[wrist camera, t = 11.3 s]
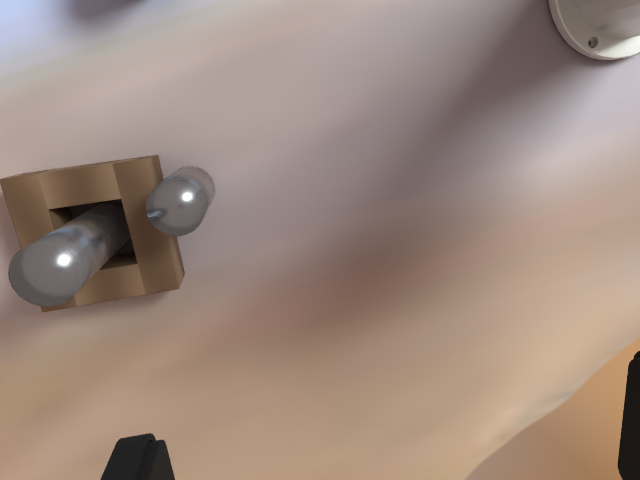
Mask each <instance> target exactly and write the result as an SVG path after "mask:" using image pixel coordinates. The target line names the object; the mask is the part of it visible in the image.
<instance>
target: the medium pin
mask: <svg viewBox="0 0 640 480" xmlns="http://www.w3.org/2000/svg"><path fill="white" fill-rule="evenodd" d="M214 191H215V188H214V183H213V180H212V178H211V177H210V176H209V174H208V173H207V172H205V171H204V170H202V169H200V168H198V167H194V166H187V167H183V168H180V169H179V170H177V171H176V172H174V173H173V174H172V175H170V176H169V177H168V178H166V179H165V180H164V181H162V182H161V183H159V184H158V185H157V186H155V187H154V188H153V189H152V191H151V192H150V193H149V195H148V198H147V201H146V212H147V215H148V218H149V220H150V221H151V223H152V224H153V225H154V226H155V227H156V228H157V229H158V230H159V231H161V232H163V233H165V234H168V235H174V236H180V235H185V234H188V233H190V232H192V231H193V230H195V229H196V228H197V227H198V226H199V225H200V223H201V222H202V220H203V217H204V215H205V213H206V211H207V209H208V207H209V205H210V203H211V201H212V199H213V196H214Z"/></svg>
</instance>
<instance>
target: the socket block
mask: <svg viewBox="0 0 640 480" xmlns="http://www.w3.org/2000/svg"><path fill="white" fill-rule="evenodd" d="M162 181H164V179H163V175H162V170H161V166H160V161H159V157H158V155H154V156H146V157H139V158H132V159H124V160H117V161H110V162H103V163H95V164H88V165H81V166H74V167H66V168H59V169H52V170H44V171H37V172H30V173H23V174H19V175H15V176H11V177H7V178H3V179H0V184H1V187H2V191H3V194H4V197H5V200H6V203H7V206H8V209H9V212H10V215H11V218H12V221H13V224H14V227H15V230H16V233H17V236H18V239H19V242H20V246H21V249H23V248H25V247H27V246H29V245H30V244H32V243H34V242H35V241H37V240H39V239H40V238H42V237H44V236H46V235H47V234H49V233H51V232H52V231H54V230H56V229H58V228H59V227H61V226H63V225H64V224H66V223H68V222H70V221H71V220H72V216H71V213H70V210H69V206H74V205H81V204H88V203H95V202H102V201H108V200H115V199H121V200H122V204H123V208H124V212H125V216H126V220H127V224H128V228H129V232H130V236H131V239H132V243H133V247H134V251H135V253H130V254H124V255H118V256H112V257H111V258H110V259H109V260H108V261H107V262H106V263H105V264H104V265H103V266H102V267H101V268H100V269H99V270H98V271H97V272H96V273H95V274H94V275H93V276H92V277H91V278H90V279H89V280H88V281H87V282H86V283H85V284H84V286H83V287H82V288H81V289H80V290H79V291H78V292H77V293H76V294H75V295H74V296H73V297H72V298H71V299H69V300H68V301H67V302H65V303H63V304H60V305H56V306H40V307H41V310H42V312H47V311H53V310H59V309H64V308H70V307H76V306H82V305H88V304H94V303H99V302H105V301H111V300H117V299H123V298H128V297H134V296H140V295H146V294H152V293H158V292H163V291H169V290H175V289H179V287H180V284H181V282H182V279H183V277H184V274H185V273H184V268H183V264H182V260H181V255H180V251H179V246H178V242H177V237H176V236H174V235H168V234H165V233H163V232H161V231H159V230H158V229H157V228H156V227H155V226H154V225H153V224H152V223H151V221H150V220H149V218H148V215H147V212H146V201H147V198H148V195H149V193H150V192H151V191H152V189H153V188H154V187H155V186H157V185H158V184H159V183H161V182H162Z"/></svg>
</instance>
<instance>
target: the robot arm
mask: <svg viewBox="0 0 640 480" xmlns="http://www.w3.org/2000/svg"><path fill="white" fill-rule="evenodd" d="M549 7H550V10H551V14H552V17H553V21H554V23H555V25H556V27H557V29H558V31H559V33H560V34H561V35H562V37H563V38H564V39H565V41H566V42H567V43H568V44H569V45H570V46H571V47H573V48H574V49H575V50H576V51H577V52H579V53H581V54H583V55H585V56H587V57H589V58H594V59H599V60H616V59H622V58H628V57H631V56H633V55H636V54H639V53H640V0H549ZM618 469H619V473H620V475H621V477H622V479H623V480H640V351H638V352H637V353H636V354H635V355H634V359H633V360H631V362H630V363H629V367H628V375H627V384H626V395H625V402H624V411H623V420H622V429H621V439H620V448H619V457H618ZM101 480H175V478H174V474H173V470H172V466H171V462H170V458H169V454H168V450H167V446H166V443H165V441H164V440H158V441H156V439H155V437H154V435H153V434H151V433H150V434H144V435H138V436H132V437H126V438H121V439H119V440H118V442H117V443H116V445H115V448H114V450H113V452H112V454H111V457H110V459H109V461H108V464H107V466H106V468H105V470H104V473H103V475H102V477H101Z"/></svg>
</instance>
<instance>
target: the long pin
mask: <svg viewBox="0 0 640 480" xmlns="http://www.w3.org/2000/svg"><path fill="white" fill-rule="evenodd" d="M129 238H130V232H129V228H128V224H127V220H126V216H125V212H124V209H122V208H121V207H119V206H117V205H114V204H100V205H97V206H95V207H93V208H92V209H90V210H88V211H87V212H85V213H83V214H81V215H80V216H78V217H76V218H75V219H73V220H71V221H70V222H68V223H66V224H64V225H63V226H61V227H59V228H58V229H56V230H54V231H52V232H51V233H49V234H47V235H46V236H44V237H42V238H40V239H39V240H37V241H35V242H34V243H32V244H30V245H29V246H27V247H25V248H23V249H22V250H20V251H19V252H18V253H17V254H16V255H15V256H14V257H13V259H12V260H11V262H10V265H9V272H8V274H9V280H10V283H11V285H12V287H13V289H14V290H15V291H16V293H17V294H18V295H19V296H20V297H22V298H23V299H24V300H26V301H28V302H30V303H32V304H35V305H39V306H56V305H60V304H63V303H65V302H67V301H68V300H69V299H71V298H72V297H73V296H74V295H75V294H76V293H77V292H78V291H79V290H80V289H81V288H82V287H83V286H84V284H85V283H86V282H87V281H88V280H89V279H90V278H91V277H92V276H93V275H94V274H95V273H96V272H97V271H98V270H99V269H100V268H101V267H102V266H103V265H104V264H105V263H106V262H107V261H108V260H109V259H110V258H111V257H112V256H113V255H114V254H115V253H116V252H117V251H118V250H119V249H120V248H121V247H122V245H123V244H124V243H125V242H126V241H127V240H128V239H129Z"/></svg>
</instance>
